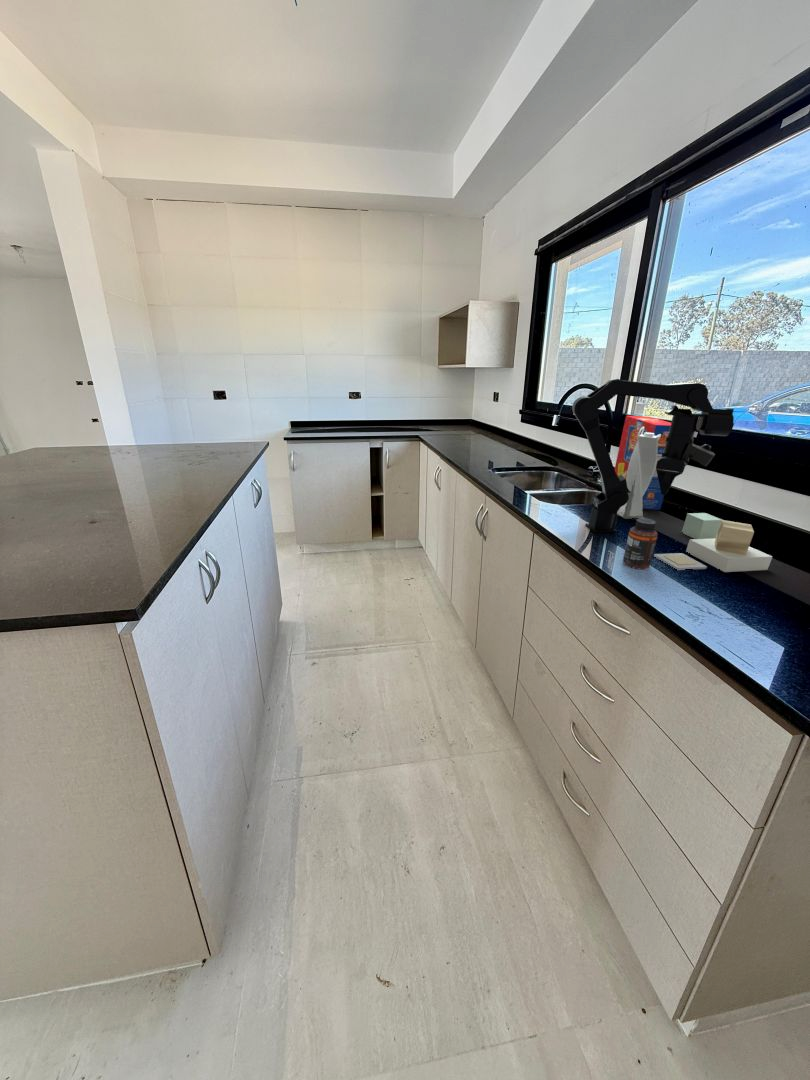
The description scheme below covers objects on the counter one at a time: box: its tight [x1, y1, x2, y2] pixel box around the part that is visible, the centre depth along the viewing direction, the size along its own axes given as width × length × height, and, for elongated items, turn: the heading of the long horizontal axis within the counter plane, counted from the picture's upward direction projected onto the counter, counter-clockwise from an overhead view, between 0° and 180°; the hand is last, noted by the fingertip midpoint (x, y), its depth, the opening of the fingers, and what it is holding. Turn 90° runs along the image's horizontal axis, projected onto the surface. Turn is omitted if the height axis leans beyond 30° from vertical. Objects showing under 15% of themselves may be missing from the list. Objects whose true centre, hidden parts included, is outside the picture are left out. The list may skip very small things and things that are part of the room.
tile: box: [653, 552, 708, 571], centre depth 106 cm, size 8×8×1 cm
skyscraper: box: [617, 426, 661, 520], centre depth 135 cm, size 8×8×28 cm
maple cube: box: [715, 519, 755, 555], centre depth 105 cm, size 6×6×6 cm
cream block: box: [685, 538, 773, 573], centre depth 107 cm, size 12×12×4 cm
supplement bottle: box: [622, 517, 658, 570], centre depth 102 cm, size 6×6×11 cm
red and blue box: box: [614, 415, 671, 511], centre depth 154 cm, size 28×8×28 cm, turn 172°
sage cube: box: [681, 512, 723, 539], centre depth 122 cm, size 6×6×6 cm
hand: (665, 491), depth 118 cm, fingers open, 9 cm apart
